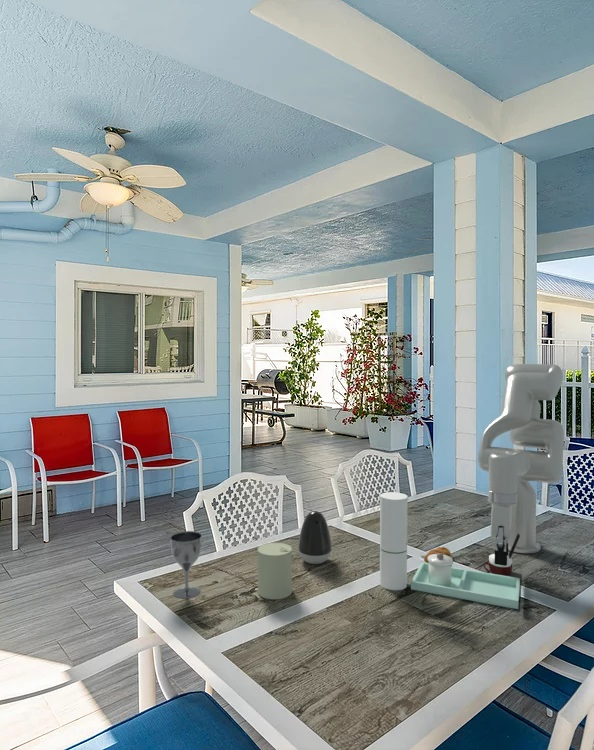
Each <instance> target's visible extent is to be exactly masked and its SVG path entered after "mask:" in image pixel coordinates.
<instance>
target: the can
mask: <svg viewBox="0 0 594 750" xmlns="http://www.w3.org/2000/svg"><path fill="white" fill-rule="evenodd" d="M292 553H293V548H292V546H291V545H290V544H286V543H284V542H268V543H264V544H260V545H259V546H258V547H257V591H256V592H257V595H258V596H259V597H261V598H264V599H266V600H283V599H285V598H288V597H289V596H291V594H292V593H293V584H292V583H293V581H292V579H293V578H292V571H293V567H292V566H293V565H292V561H293V556H292Z"/></svg>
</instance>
